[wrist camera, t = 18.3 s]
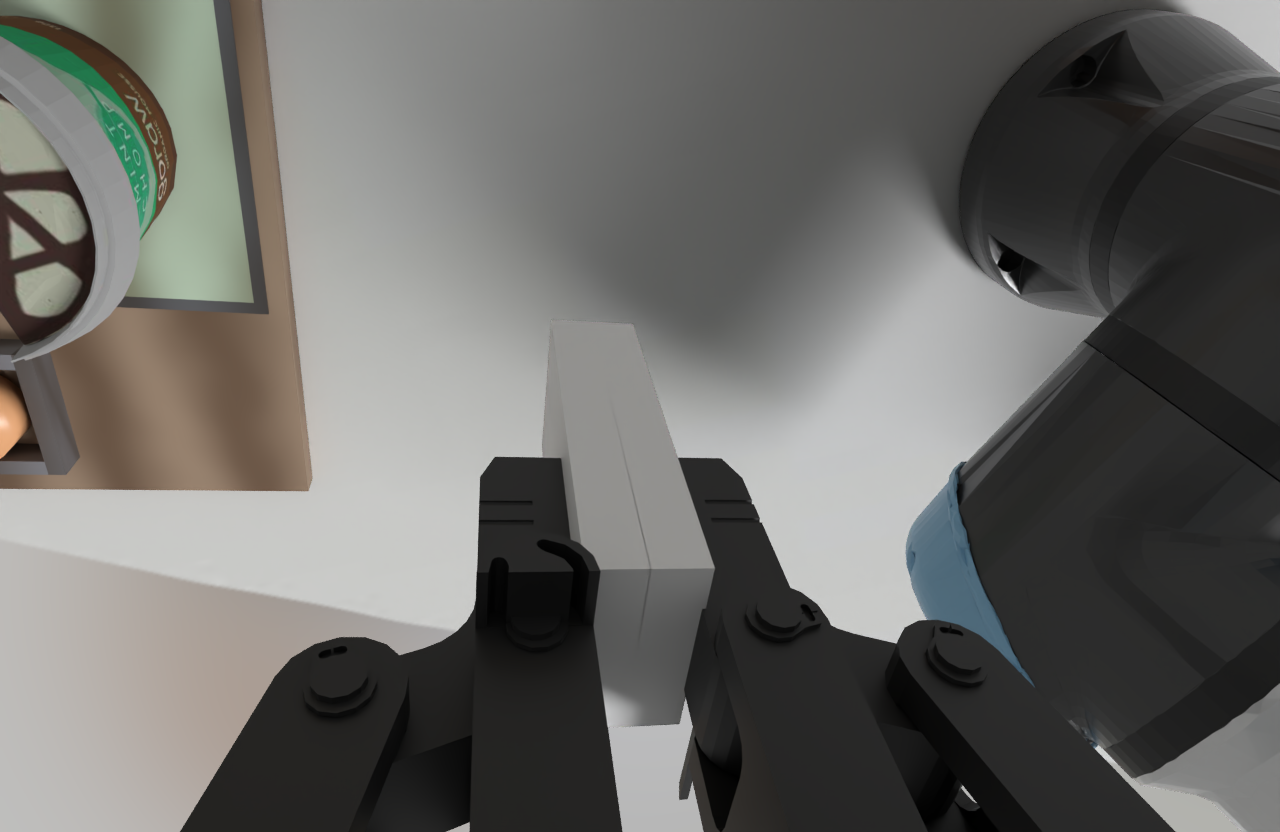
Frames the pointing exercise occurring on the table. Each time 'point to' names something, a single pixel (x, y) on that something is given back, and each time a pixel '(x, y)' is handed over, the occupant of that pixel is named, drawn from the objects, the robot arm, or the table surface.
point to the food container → (73, 180)
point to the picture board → (180, 284)
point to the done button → (12, 415)
